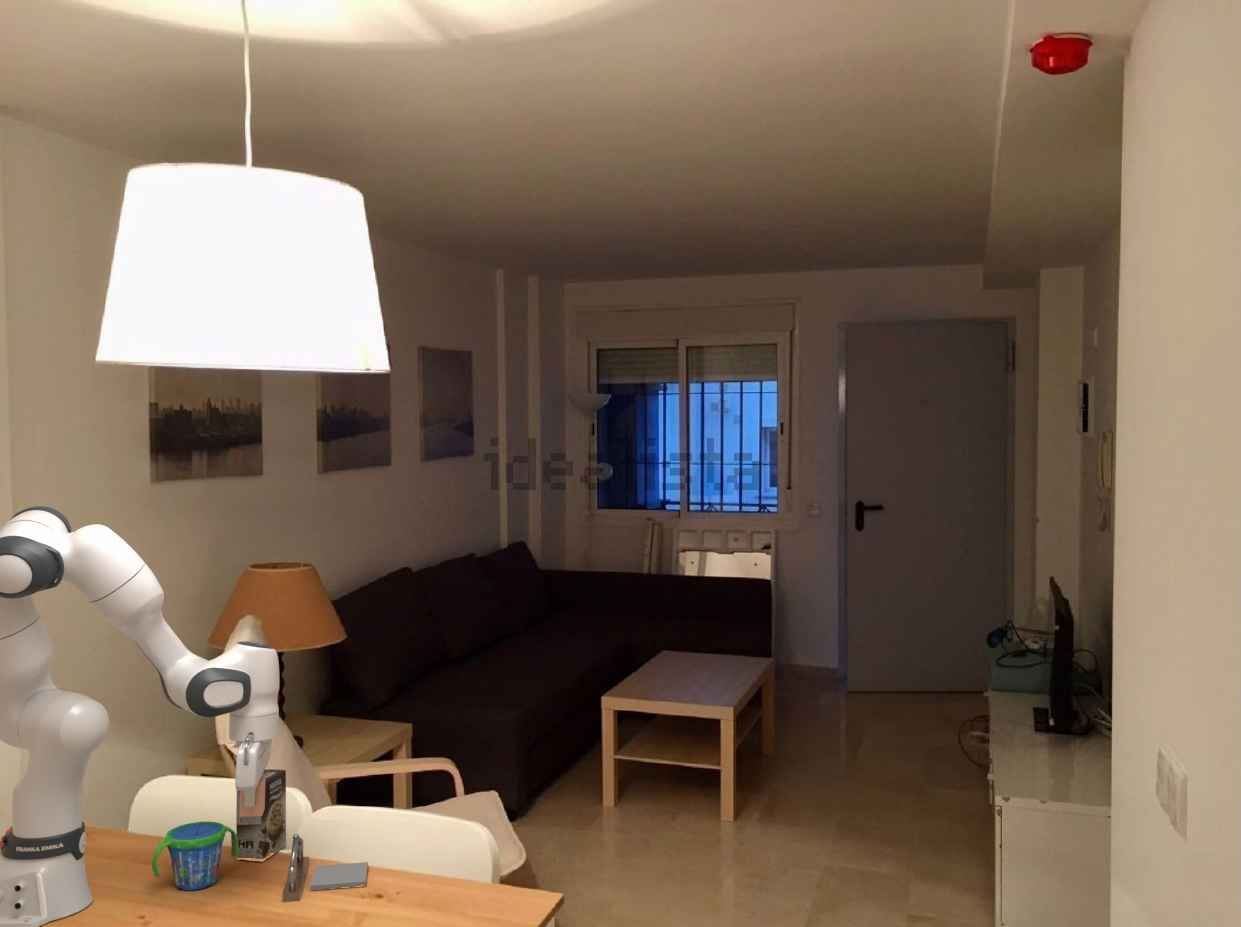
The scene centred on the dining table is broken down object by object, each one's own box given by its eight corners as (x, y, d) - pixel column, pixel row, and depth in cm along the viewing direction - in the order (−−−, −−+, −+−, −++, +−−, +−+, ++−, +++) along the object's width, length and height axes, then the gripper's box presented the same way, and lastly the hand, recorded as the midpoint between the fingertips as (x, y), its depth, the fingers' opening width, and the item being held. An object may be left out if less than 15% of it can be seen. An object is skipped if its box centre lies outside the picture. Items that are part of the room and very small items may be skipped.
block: (239, 817, 199) (240, 784, 199) (242, 810, 203) (243, 778, 203) (262, 816, 200) (262, 783, 200) (264, 809, 204) (265, 778, 204)
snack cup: (159, 903, 194) (159, 847, 194) (145, 885, 202) (145, 831, 202) (246, 883, 203) (246, 829, 203) (230, 866, 211) (230, 814, 211)
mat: (310, 891, 199) (310, 885, 199) (315, 871, 208) (315, 866, 208) (365, 887, 201) (365, 881, 201) (367, 867, 210) (367, 862, 210)
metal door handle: (282, 902, 194) (282, 851, 194) (293, 865, 212) (293, 819, 212) (299, 900, 194) (299, 850, 194) (309, 864, 212) (308, 818, 212)
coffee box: (264, 863, 213) (264, 782, 213) (235, 860, 214) (234, 780, 214) (287, 847, 222) (287, 769, 222) (259, 845, 223) (259, 767, 223)
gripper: (264, 739, 192) (262, 817, 192) (277, 716, 212) (275, 786, 212) (227, 741, 191) (225, 819, 191) (243, 717, 211) (242, 788, 211)
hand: (252, 801), depth 202 cm, fingers closed on block, 4 cm apart
